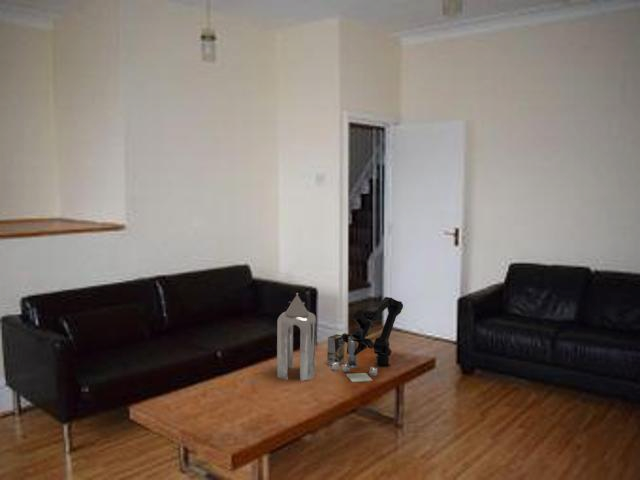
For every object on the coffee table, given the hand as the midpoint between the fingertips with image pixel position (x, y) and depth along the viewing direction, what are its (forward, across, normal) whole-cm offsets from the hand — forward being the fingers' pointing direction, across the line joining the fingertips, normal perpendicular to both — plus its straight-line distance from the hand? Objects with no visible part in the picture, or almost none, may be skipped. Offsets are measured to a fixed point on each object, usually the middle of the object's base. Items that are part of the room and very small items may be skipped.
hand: (350, 354), depth 309 cm
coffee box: (0, -21, +20) cm, 29 cm away
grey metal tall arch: (+20, -26, -1) cm, 33 cm away
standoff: (+4, 0, +6) cm, 7 cm away
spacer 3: (+1, +6, +18) cm, 19 cm away
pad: (+7, +3, +12) cm, 14 cm away
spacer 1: (+6, -15, +13) cm, 21 cm away
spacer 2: (+4, -9, +14) cm, 17 cm away
